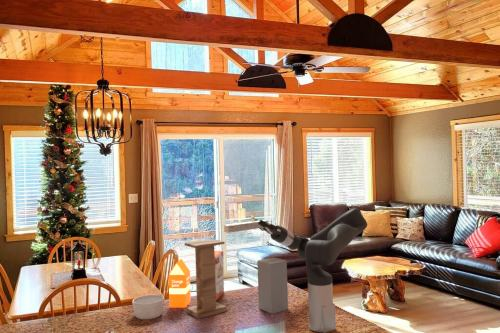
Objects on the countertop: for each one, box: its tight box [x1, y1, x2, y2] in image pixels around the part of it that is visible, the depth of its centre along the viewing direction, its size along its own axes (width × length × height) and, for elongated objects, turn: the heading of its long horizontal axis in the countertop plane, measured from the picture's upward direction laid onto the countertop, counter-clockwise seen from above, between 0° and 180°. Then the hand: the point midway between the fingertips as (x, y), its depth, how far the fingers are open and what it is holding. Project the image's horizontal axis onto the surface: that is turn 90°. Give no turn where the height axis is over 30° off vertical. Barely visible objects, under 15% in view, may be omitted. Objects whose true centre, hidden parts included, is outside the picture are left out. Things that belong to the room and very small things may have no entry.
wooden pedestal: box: [184, 238, 228, 320], centre depth 187 cm, size 10×14×30 cm
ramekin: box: [131, 294, 165, 320], centre depth 186 cm, size 13×13×7 cm
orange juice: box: [168, 258, 192, 308], centre depth 199 cm, size 8×9×20 cm
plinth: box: [256, 257, 289, 314], centre depth 189 cm, size 9×9×21 cm
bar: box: [223, 219, 269, 234], centre depth 197 cm, size 4×22×3 cm, turn 126°
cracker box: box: [214, 250, 225, 302], centre depth 209 cm, size 14×6×21 cm, turn 168°
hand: (257, 221), depth 200 cm, fingers closed on bar, 3 cm apart
